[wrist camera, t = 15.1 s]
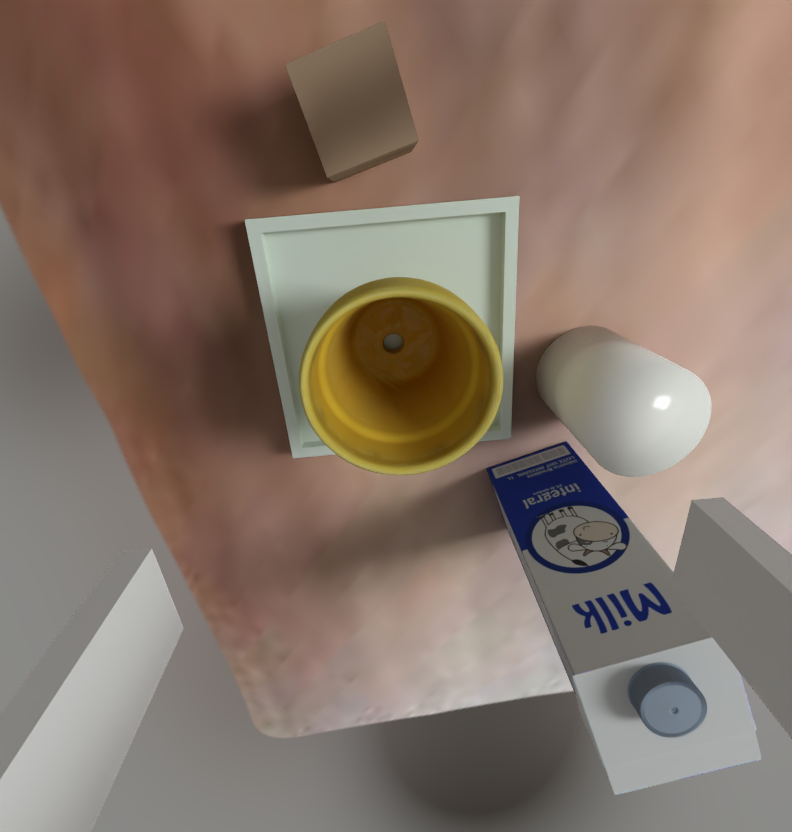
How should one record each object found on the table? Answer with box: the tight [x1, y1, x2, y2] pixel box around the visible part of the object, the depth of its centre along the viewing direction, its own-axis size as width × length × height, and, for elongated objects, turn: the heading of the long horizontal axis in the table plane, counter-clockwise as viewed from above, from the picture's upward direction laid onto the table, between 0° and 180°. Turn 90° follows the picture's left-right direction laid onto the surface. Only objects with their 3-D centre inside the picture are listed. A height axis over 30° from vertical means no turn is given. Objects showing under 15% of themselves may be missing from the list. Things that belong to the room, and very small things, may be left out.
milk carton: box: [487, 441, 761, 795], centre depth 29 cm, size 7×7×20 cm
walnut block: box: [285, 21, 419, 182], centre depth 24 cm, size 5×5×5 cm
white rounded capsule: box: [536, 326, 711, 477], centre depth 29 cm, size 7×7×9 cm
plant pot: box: [299, 277, 503, 475], centre depth 27 cm, size 10×10×10 cm
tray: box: [245, 196, 519, 458], centre depth 31 cm, size 17×17×2 cm
